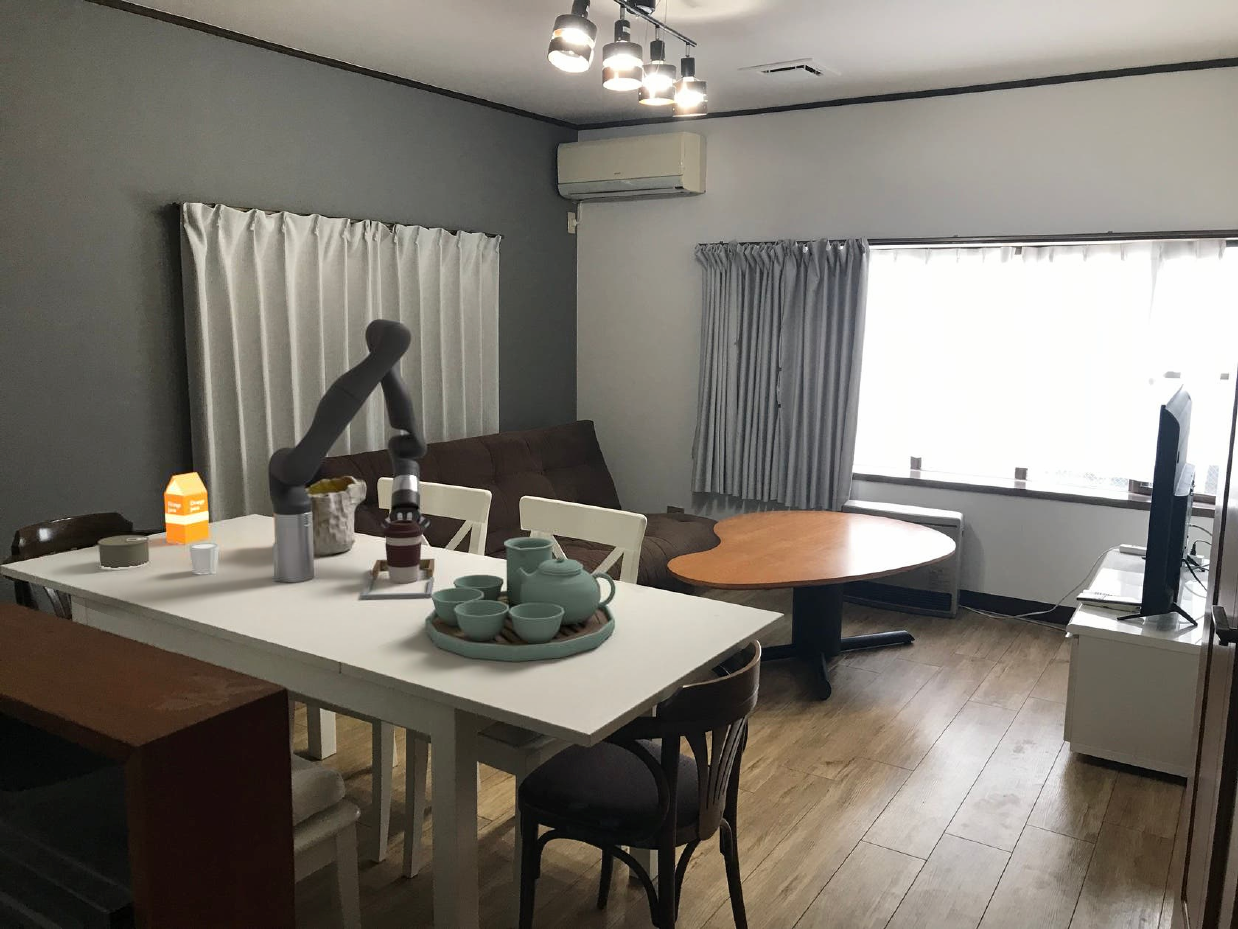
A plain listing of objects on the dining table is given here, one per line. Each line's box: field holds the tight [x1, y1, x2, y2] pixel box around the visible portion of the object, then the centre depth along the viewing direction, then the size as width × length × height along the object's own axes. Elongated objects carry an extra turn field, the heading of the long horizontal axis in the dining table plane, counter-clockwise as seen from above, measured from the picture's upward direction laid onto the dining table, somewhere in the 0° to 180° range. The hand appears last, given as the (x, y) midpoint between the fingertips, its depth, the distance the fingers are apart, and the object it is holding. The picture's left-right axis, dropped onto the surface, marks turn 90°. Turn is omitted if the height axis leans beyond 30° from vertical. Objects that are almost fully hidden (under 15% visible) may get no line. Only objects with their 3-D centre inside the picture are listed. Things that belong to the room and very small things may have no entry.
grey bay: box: [361, 576, 435, 600], centre depth 234 cm, size 16×15×1 cm
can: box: [97, 534, 150, 568], centre depth 254 cm, size 12×12×7 cm
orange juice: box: [163, 471, 210, 544], centre depth 282 cm, size 8×9×20 cm
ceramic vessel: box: [306, 475, 367, 557], centre depth 272 cm, size 23×24×25 cm
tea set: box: [424, 536, 616, 663], centre depth 204 cm, size 40×40×16 cm
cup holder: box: [371, 558, 435, 581], centre depth 249 cm, size 15×12×2 cm
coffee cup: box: [382, 520, 424, 584], centre depth 242 cm, size 10×10×15 cm
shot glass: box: [189, 543, 219, 574], centre depth 248 cm, size 7×7×7 cm
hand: (404, 551), depth 246 cm, fingers closed
